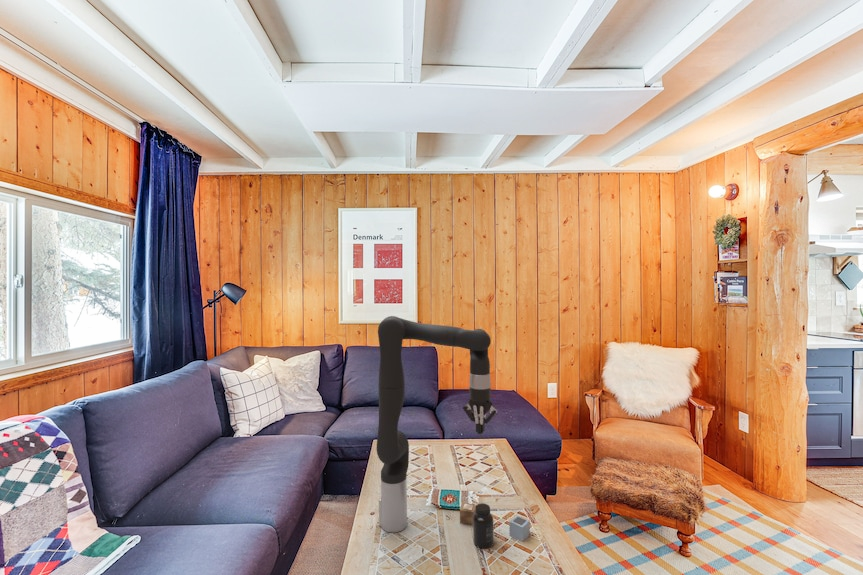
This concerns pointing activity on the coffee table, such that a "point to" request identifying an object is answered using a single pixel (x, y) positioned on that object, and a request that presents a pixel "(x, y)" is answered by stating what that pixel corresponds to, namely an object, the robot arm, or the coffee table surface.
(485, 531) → the supplement bottle
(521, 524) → the slate-blue block
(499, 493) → the coffee table surface
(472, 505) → the walnut block
